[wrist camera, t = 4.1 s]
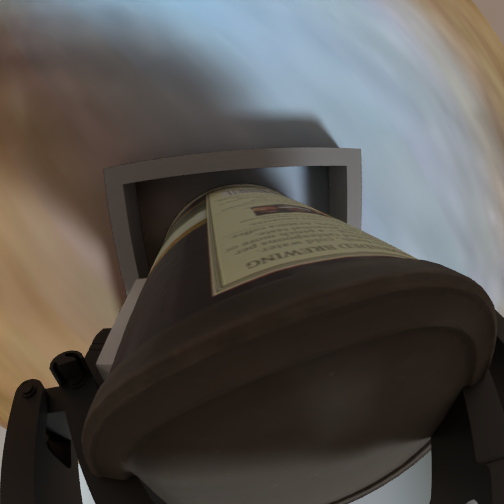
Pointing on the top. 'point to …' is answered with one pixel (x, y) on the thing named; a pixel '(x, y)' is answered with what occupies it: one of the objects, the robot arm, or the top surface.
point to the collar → (124, 176)
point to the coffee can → (283, 358)
